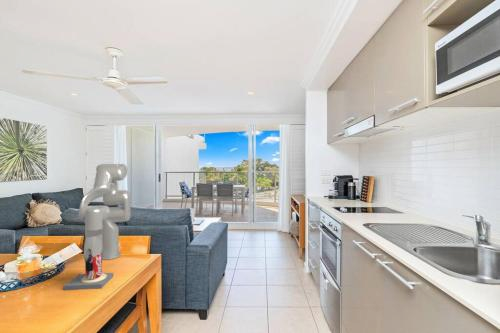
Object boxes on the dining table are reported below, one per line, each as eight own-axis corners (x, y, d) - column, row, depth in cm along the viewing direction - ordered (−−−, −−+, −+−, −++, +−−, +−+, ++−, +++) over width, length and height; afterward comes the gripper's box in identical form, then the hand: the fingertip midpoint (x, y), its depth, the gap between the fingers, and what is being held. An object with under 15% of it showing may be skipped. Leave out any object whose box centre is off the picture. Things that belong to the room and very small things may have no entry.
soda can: (94, 281, 130) (94, 256, 130) (81, 280, 131) (81, 255, 131) (105, 275, 137) (104, 251, 137) (93, 274, 138) (93, 250, 138)
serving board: (79, 277, 140) (79, 272, 140) (113, 276, 142) (113, 271, 142) (63, 290, 126) (63, 284, 126) (101, 288, 128) (101, 282, 128)
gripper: (94, 229, 143) (94, 261, 143) (76, 237, 125) (76, 274, 125) (109, 228, 143) (109, 260, 143) (93, 237, 126) (93, 273, 126)
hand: (94, 267), depth 134 cm, fingers open, 9 cm apart
